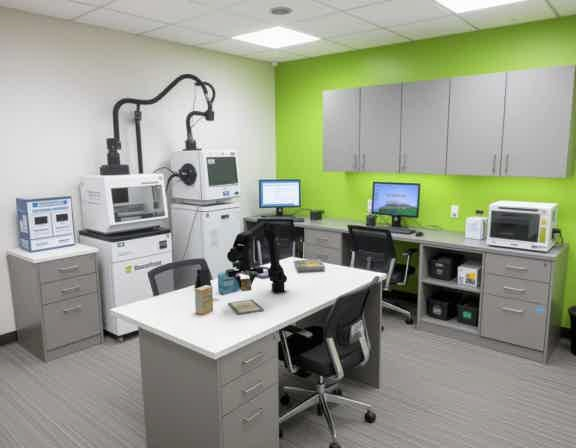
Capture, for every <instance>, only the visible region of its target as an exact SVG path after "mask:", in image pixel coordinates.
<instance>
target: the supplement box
mask: <svg viewBox="0 0 576 448" xmlns="http://www.w3.org/2000/svg"><path fill="white" fill-rule="evenodd" d="M213 291H214V290H213V286H212V285H211V286H209V285H205V286H202V287H199V288H194V300H195V301H194V304H195V305H194V307H195V315H200V316H204V315H206V314H208V313H210V312H213V311H214V300H213V299H214V298H213V297H214V296H213Z"/></svg>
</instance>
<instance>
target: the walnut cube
mask: <svg viewBox="0 0 576 448" xmlns="http://www.w3.org/2000/svg"><path fill="white" fill-rule="evenodd" d="M239 291H241V292H248V291H252V285H251V280H249V278H248V277H247V278H241V289H240V288H239Z"/></svg>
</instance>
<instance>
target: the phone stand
mask: <svg viewBox="0 0 576 448" xmlns="http://www.w3.org/2000/svg"><path fill="white" fill-rule="evenodd" d="M210 279H211V278H210V275H209V268H207V267H203V268H199V269H196V278H195V283H194V289H196V288H199V287H202V286H205V285H209V286H212V282H211V280H210Z"/></svg>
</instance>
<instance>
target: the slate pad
mask: <svg viewBox="0 0 576 448" xmlns="http://www.w3.org/2000/svg"><path fill="white" fill-rule="evenodd" d="M227 305H228V306H229V308H231V310H232V311H233V312H234V313H235V314H236V315H237V316H240V315H247V314H253V313H259V312H261V313H262V312H265V309H264V308H263V307H262V306H261V305H260V304H259V303H257V302H256V301H255V300H254V299H246V300H240V301H239V300H238V301H232V302H227Z"/></svg>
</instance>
